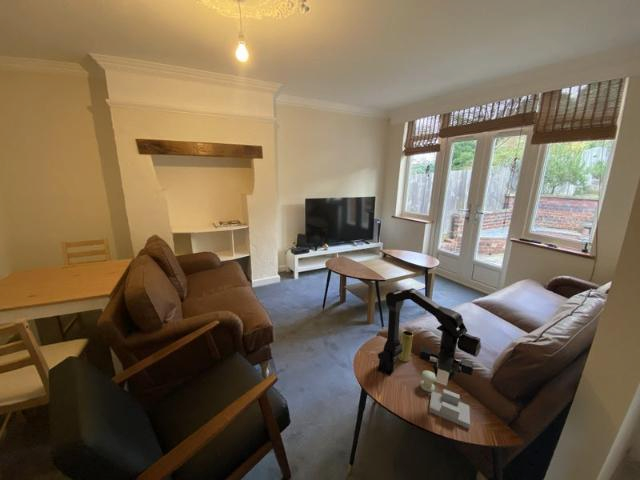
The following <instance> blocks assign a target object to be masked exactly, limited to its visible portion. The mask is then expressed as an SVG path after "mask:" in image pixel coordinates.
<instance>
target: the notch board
mask: <svg viewBox="0 0 640 480" xmlns="http://www.w3.org/2000/svg"><path fill="white" fill-rule="evenodd" d="M430 393H431V394H430V401H429V402H430V403H429V407H428V408H429V409H428V412H429V413H431V414H434V415H435V416H438V417H441V418H443V419H445V420H447V421H450V422H453V423H454V424H457V425H459V426H462V427H464V428H466V429H468V430H469V429H470V425H471V416H470V415H471V414H470V405H469V404H466V403H464V402H462V401H460V399H461V398H460V394H458V393H455V392H453V391H450V390H449V389H444V388H443V389H442V393H439V392H436V391H435V390H434V391H432V392H430Z"/></svg>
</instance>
